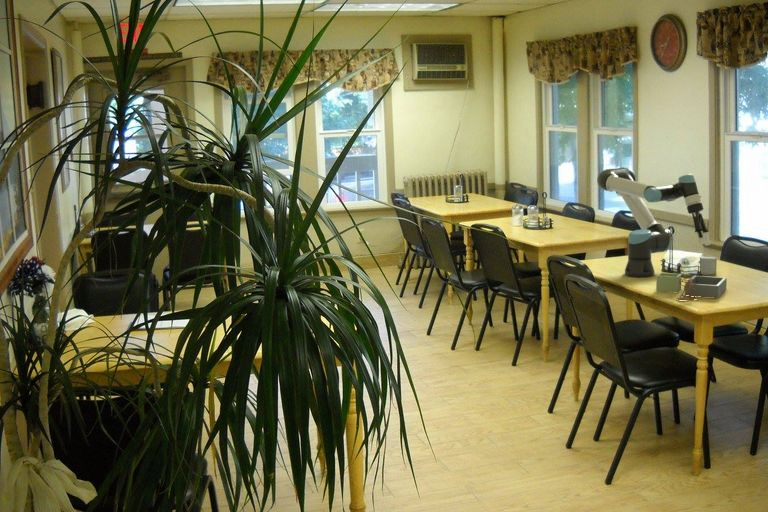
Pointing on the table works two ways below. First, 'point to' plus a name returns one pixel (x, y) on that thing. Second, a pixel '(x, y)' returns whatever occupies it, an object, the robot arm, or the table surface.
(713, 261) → the medicine box
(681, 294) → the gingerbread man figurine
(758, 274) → the table surface
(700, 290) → the grey open rectangular box
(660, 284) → the block
